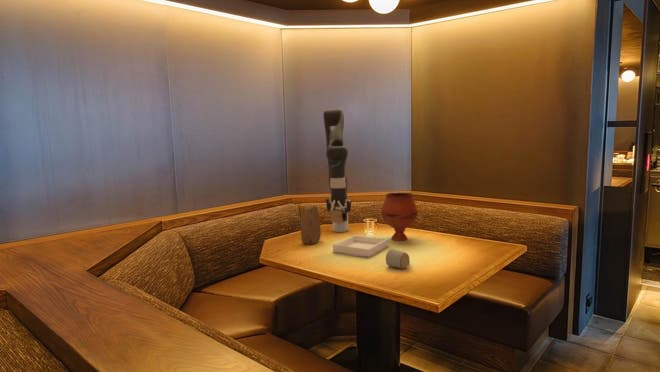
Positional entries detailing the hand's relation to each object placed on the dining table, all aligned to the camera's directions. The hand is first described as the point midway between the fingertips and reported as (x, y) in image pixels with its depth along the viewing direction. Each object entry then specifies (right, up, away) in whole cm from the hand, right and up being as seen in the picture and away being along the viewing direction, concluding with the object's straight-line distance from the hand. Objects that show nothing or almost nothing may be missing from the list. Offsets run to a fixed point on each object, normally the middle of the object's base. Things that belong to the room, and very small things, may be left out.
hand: (339, 219), depth 212 cm
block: (-15, -14, +18) cm, 27 cm away
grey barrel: (+26, -18, -27) cm, 42 cm away
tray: (+11, -15, +1) cm, 19 cm away
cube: (0, -1, 0) cm, 1 cm away
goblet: (+34, -12, +20) cm, 41 cm away
